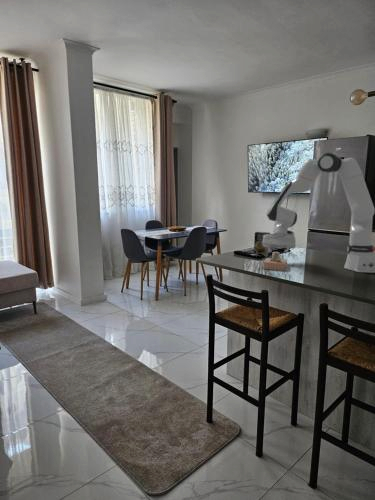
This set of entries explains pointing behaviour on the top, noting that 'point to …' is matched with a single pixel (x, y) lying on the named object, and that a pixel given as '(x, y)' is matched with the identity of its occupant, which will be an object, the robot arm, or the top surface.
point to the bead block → (275, 264)
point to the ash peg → (275, 256)
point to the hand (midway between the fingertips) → (277, 252)
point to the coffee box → (260, 244)
